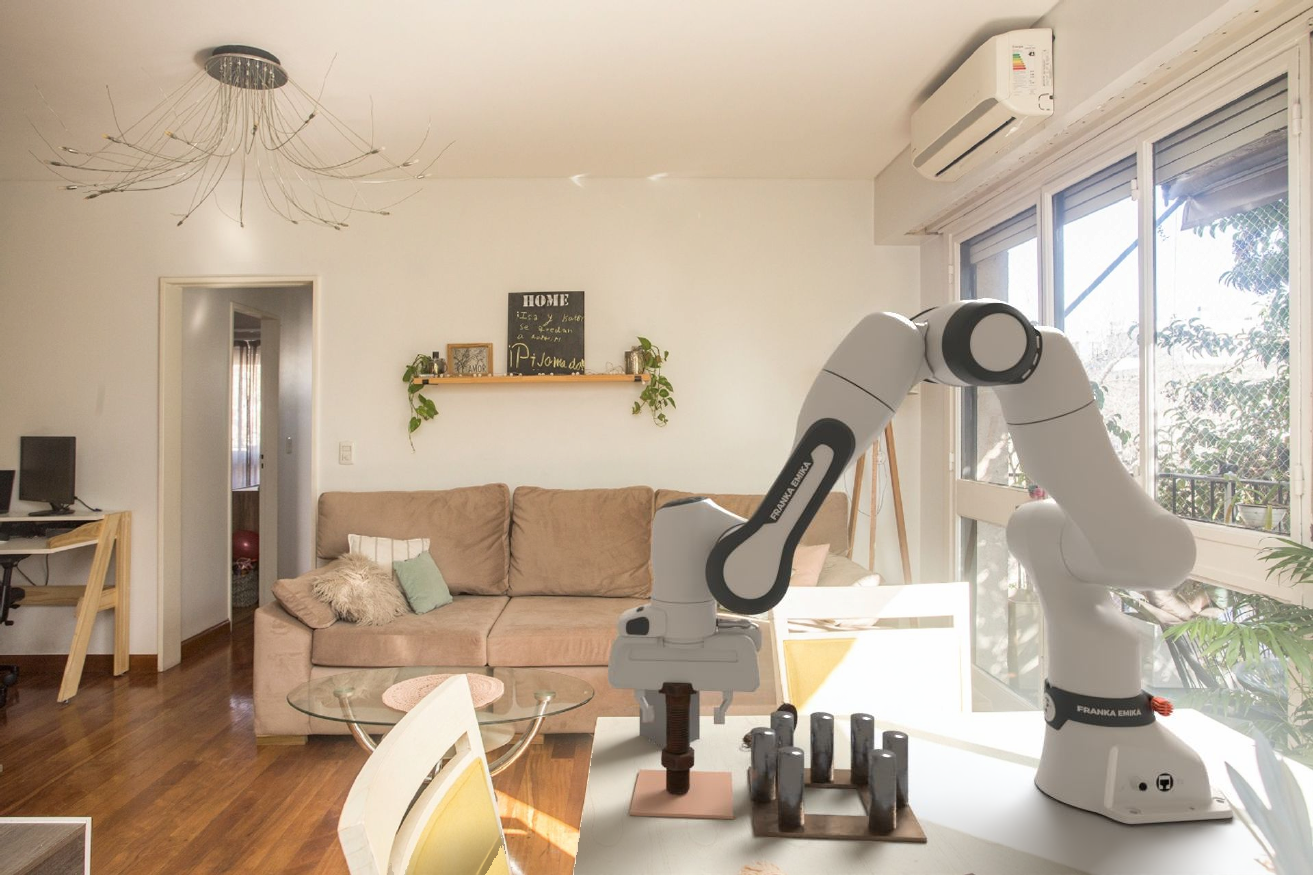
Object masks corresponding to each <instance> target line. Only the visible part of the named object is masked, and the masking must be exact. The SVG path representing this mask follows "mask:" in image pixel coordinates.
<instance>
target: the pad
mask: <svg viewBox="0 0 1313 875" xmlns="http://www.w3.org/2000/svg"><path fill="white" fill-rule="evenodd" d="M733 796H734V794H733V777H732V772H730V771H700V770H698V771H697V770H690V789H689V791H688V792H687V793H683V794H671V793H669V792H668V791H667V790H666V769H663V770H662V769H639V771H638V776H637V780H636V783H635V788H634V793H633V798H632V801H631V806H630V809H629V810H630V811H629V816H634V817H635V816H637V817H638V816H641V817H642V816H643V817H666V818H667V817H669V818H696V819H697V818H698V819H719V820H721V819H724V820H734V797H733Z"/></svg>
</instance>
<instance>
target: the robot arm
mask: <svg viewBox="0 0 1313 875" xmlns="http://www.w3.org/2000/svg"><path fill="white" fill-rule="evenodd" d="M921 382H927V383H930V384H940V385H944V386H948V387H953V388H954V387H955V388H964V387H970V386H971V387H972V386H975V387H983V388H985V387H987V388H991V390H992V391H993V392H994V394H995V396H996V397H997V399H998V400H999V403H1000V407H1001V410H1002V414H1003V417H1004V418H1003V419H1004V420H1005V423H1006V426H1007V430H1008V433H1009V436H1010V439H1011V443H1012V444H1013V448H1014V450H1015V453H1016V456H1017V460H1018V462H1019V465H1020V469H1021V470H1022V472H1023V474H1024V475H1025V476H1026V478H1027V479H1028V480H1029V481H1031V482H1032V483H1033V484H1034V485H1036V486H1037V487H1039V488H1040V489H1042V490H1043V491H1044V492H1045V493H1047V494H1048V496H1050V497H1051V498H1046V499H1045V498H1044V499H1039V500H1035V501H1028V502H1025V503H1023V504H1021V505H1020V506H1018V507H1017V508H1016V509H1014V511H1013V512H1012V513H1011V515H1010V517H1009V518H1008V521H1007V526H1006V530H1005V539H1006V545H1007V547H1008V548H1007V549H1008V550H1009V552H1010V554H1011V556H1012V557H1013V558H1014V559H1015V560H1016V561H1017V562H1018V563H1019V564H1020V566H1021V567H1022V568H1023V569H1024V571H1025V572H1026V574H1027V575H1028V577H1029V579H1030V581H1031V583H1032V585H1033V588H1034V590H1035V593H1036V595H1037V598H1038V601H1039V604H1040V606H1041V610H1042V614H1043V619H1044V624H1045V630H1046V631H1045V632H1046V653H1047V656H1046V658H1047V660H1046V661H1047V677H1046V678H1045V679H1044V682H1043V684H1044V685H1043V696H1042V698H1043V699H1042V703H1043V704H1042V705H1043V707H1042V710H1043V715H1044V721H1045V730H1044V736H1043V737H1044V739H1043V745H1042V750H1041V755H1040V756H1041V757H1040V759H1039V764H1038V767H1037V770H1036V773H1035V775H1034V783H1035V785H1036V786H1037V787H1038V788H1039V789H1040V791H1042V792H1043V793H1045V794H1046V795H1049V797H1051V798H1054V799H1056V800H1057V801H1060V802H1062V803H1065V804H1068V805H1069V806H1073V807H1076V808H1079V809H1083V810H1086V811H1090V812H1094V813H1098V814H1100V815H1103V816H1106V817H1108V818H1110V819H1112V820H1114V821H1117V822H1120V823H1124V824H1129V825H1130V824H1131V825H1134V824H1136V825H1137V824H1152V823H1165V822H1166V823H1168V822H1170V823H1171V822H1183V821H1197V820H1201V821H1202V820H1217V819H1218V820H1219V819H1229V818H1233V810H1231V809H1230V807H1229V806H1228V805H1227V802H1226V801H1225V799H1223V797H1222V796H1221V794H1222V793H1221V792H1220V791H1219V790H1218V789H1216V788H1215V787H1213V786H1212V785H1211V784H1210V779H1209V774H1208V770H1207V767H1206V764H1205V762H1204V761H1203V759H1202V757H1201V756H1200V754H1199V752H1197V751H1195V749H1194V748H1193V747H1191V746H1190V745H1189V744H1187V743H1186V742H1185V741H1184V740H1182V739H1181V738H1180V737H1179V736H1177V735H1176V734H1175V733H1174V732H1172V731H1171V730H1170V729H1169V728H1168V727H1166V726H1165V725H1164V724H1162V723H1161V722H1160V721H1158V720H1157V716H1156V715H1155V712H1156V713H1157V714H1158V715H1160V716H1162V717H1170V716H1171V715H1172V714H1173V713H1174V711H1173V710H1175V708H1174V705H1173V704H1172V703H1171V702H1170V701H1168V700H1166V699H1165V698H1163V697H1161V696H1154V695H1153V694H1151V693H1149V692H1147V691H1146V690H1144V689H1142V639H1141V635H1140V633H1139V630H1138V628H1137V627H1136V625H1135V624H1134V623H1133V622H1132V621H1131V620H1130V618H1128V617H1127V616H1126V615H1124V613H1123V612H1122V611H1121V610H1120V608H1118V606H1117V605H1116V603H1115V600H1114V599H1113V597H1112V595H1111V591H1110V589H1109V588H1112V589H1113V588H1115V589H1119V590H1125V591H1129V592H1155V591H1156V592H1157V591H1159V592H1160V591H1170V590H1174V589H1175V588H1179V586H1180V585H1182V584H1183V583H1184V582H1185V581H1186V580H1187V579H1188V578H1189V576H1190V575H1191V573H1192V571H1193V569H1194V567H1195V564H1196V561H1197V544H1196V541H1195V537H1194V534H1193V532H1192V530H1191V529H1190V527H1189V525H1188V524H1187V523H1186V522H1185V521H1184V520H1183V519H1182V518H1181V517H1179V516H1178V515H1176V514H1174V513H1172V512H1171V511H1169V510H1167V509H1166V508H1165V507H1163V506H1162V505H1160V503H1158V502H1157V501H1156V500H1154V499H1153V498H1152V497H1151V495H1149V494H1148V493H1147V492H1146V491H1145V490H1144V489H1143V488H1142V487H1141V485H1140V484H1139V483H1138V482H1137V481H1136V480H1135V478H1134V477H1133V476H1132V475H1131V474H1130V472H1129V471H1128V469H1127V468H1126V467H1125V465H1124V464H1123V462H1122V461H1121V460H1120V457H1119V456H1118V454H1117V452H1116V450H1115V449H1114V446H1113V444H1112V441H1111V438H1110V436H1109V433H1108V431H1107V427H1106V425H1105V422H1104V420H1103V417H1102V414H1101V410H1100V408H1099V405H1098V401H1097V399H1096V394H1095V392H1094V389H1093V387H1092V384H1091V381H1090V379H1089V376H1088V373H1087V372H1086V370H1085V367H1084V365H1083V363H1082V360H1081V359H1080V357H1079V356H1078V353H1077V352H1076V349H1075V348H1074V346H1073V345H1072V343H1071V341H1070V339H1069V337H1067V335H1066V334H1065V333H1064V332H1063V331H1062V330H1060V329H1058V328H1055V327H1051V326H1042V325H1038V326H1036V325H1035V326H1034V325H1033V324H1032V323H1031V321H1029V319H1028V317H1027V316H1026V315H1024V313H1023V312H1022V311H1020V310H1019V309H1017V308H1016V307H1015V306H1014V305H1012V304H1009V303H1008V302H1005V301H1001V300H999V299H993V298H979V299H964V300H956V301H952V302H951V301H950V302H948V303H946V304H944V305H941V306H935V307H931V308H928V309H925V310H923V311H921V312H919V313H917V314H916V315H915V316H913V317H910V318H907V317H904V316H902V315H900V314H897V313H894V312H888V311H876V312H871V313H869V314H867V315H866V316H864V317H863V318H862V319H861V320H859V322H858V323H857V324H856V325H855V326H853V328H852V329H851V331H850V332H849V333H847V335H846V336H845V337H844V338H843V339H842V341H841V342H840V343H839V344H838V346H837V347H836V348H835V349H834V351H833V352H832V353H831V355H830V356H829V358H827V360H826V362H825V363H824V365H823V366H822V368H821V370H820V371H819V373H817V376H816V377H815V379H814V381H813V382H812V384H811V387H810V389H809V391H808V392H807V394H806V397H805V399H804V401H803V403H802V405H801V409H800V411H799V414H798V417H797V422H796V429H795V436H794V440H793V443H792V446H791V450H790V453H789V455H788V458H787V460H786V462H785V463H784V465H783V467H782V469H781V470H780V471H779V474H778V476H777V477H776V478H775V480H774V481H773V483H772V485H771V486H770V488H769V490H768V492H767V493H766V494H765V496H764V497H763V499H762V501H761V502H760V504H759V505H758V507H757V509H756V510H755V511H754V513H753V514H752V515H751V516H750V518H749V519H748V518H745V517H743V516H741V515H740V516H739V515H737V514H736V513H733V512H731V511H729V510H728V509H727V510H726V509H725V508H724V507H722V506H720V505H718V504H717V503H716V502H715V501H714V500H712V499H711V498H710V497H708V496H704V495H702V496H701V495H699V496H698V495H697V496H691V497H690V496H689V497H688V496H687V497H684V498H679V499H674V500H671V501H668V502H666V503H664V504H663V505H661V506H660V507H659V508H658V509H657V510H656V512H655V514H654V517H653V522H652V528H651V541H650V567H651V571H652V574H653V583H652V588H651V591H650V602H649V603H645V604H644V605H643V604H642V605H640V606H636V607H632V608H629V609H627V610H624V612H622V613H621V615H620V616H619V617H618V620H617V623H616V625H617V626H616V628H617V635H616V637H615V639H614V641H613V643H612V645H611V647H610V652H609V658H608V666H607V682H608V684H609V685H610V686H611V688H613V689H614V690H634V692H633V693H634V695H633V697H634V699H635V701H636V702H637V704H638V706H639V709H640V708H641V709H642V710H643V722H654V706H648V703H647V702H646V700H645V698H644V697H645V693H646V690H660V689H662V686H663V683H664V682H674V683H691V684H692V687H693V689H694V690H695V691H700V692H722V702H721V704H720V706H719V707H717V706H715V707H713V725H725V724H726V712H727V710H728V709H729V707H730V705H731V704H732V702H733V701H734V693H735V692H737V693H739V692H740V693H754V692H755V691H756V690H757V689H759V687H760V685H761V678H760V666H759V658H758V657H759V656H758V653H759V652H760V650H761V649H762V646H763V632H762V630H761V628H760V626H759V625H758V624H756V623H754V622H751V621H752V620H750V619H744V618H743V619H730V618H718V617H717V614H718V613H717V612H718V611H717V610H718V606H717V605H718V604H719V605H720V606H722V607H723V608H724V609H726V610H728V611H730V612H732V613H735V614H738V615H744V616H755V615H761V614H764V613H766V612H769V611H771V610H772V609H774V608H775V607H776V606H778V604H779V603H780V602H781V601H782V600H783V598H784V597H785V595H786V594H787V592H788V589H789V586H790V582H791V578H792V572H793V571H792V570H793V564H794V562H793V561H794V557H795V553H796V549H797V547H798V546H799V543H800V542H801V540H802V538H803V536H804V535H805V533H806V531H807V530H808V529H809V526H810V525H811V524H812V522H813V520H814V518H815V517H816V516H817V513H818V512H819V511H820V509H821V507H822V505H823V504H824V503H825V501H826V499H827V497H828V496H829V494H830V493H831V491H832V490H833V488H834V487H835V485H836V484H837V482H838V481H839V480H840V479H841V478H842V477H843V475H845V473H847V472H848V470H849V469H850V468H852V467H853V465H855V463H857V461H858V460H860V458H861V457H862V456H863V455H864V454H865V453H866V452H867V450H869V449H870V448H871V446H872V445H873V444H874V443H875V442H876V441H877V439H878V438H879V437H880V436H881V435H882V433H883V432H884V431H885V429H886V428H887V426H888V425H889V424H890V422H891V421H892V419H893V418H894V417H895V415H896V413H897V411H898V410H899V408H900V407H901V405H902V404H903V402H904V400H905V398H906V397H907V394H909V393H911V391H912V390H913V389H914V387H915V386H917V385H918V384H920V383H921ZM1219 792H1220V793H1221V794H1220V793H1219Z"/></svg>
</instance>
